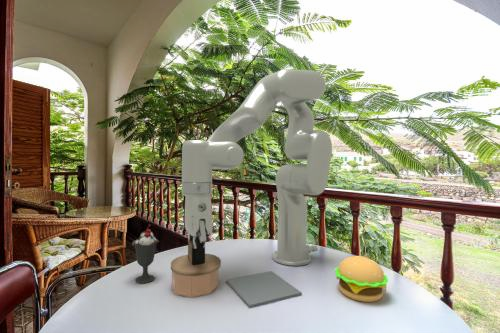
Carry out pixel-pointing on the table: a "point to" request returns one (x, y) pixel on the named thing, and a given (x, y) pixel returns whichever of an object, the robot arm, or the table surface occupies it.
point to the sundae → (145, 254)
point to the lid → (186, 268)
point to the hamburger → (361, 279)
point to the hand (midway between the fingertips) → (196, 260)
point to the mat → (262, 288)
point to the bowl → (194, 284)
